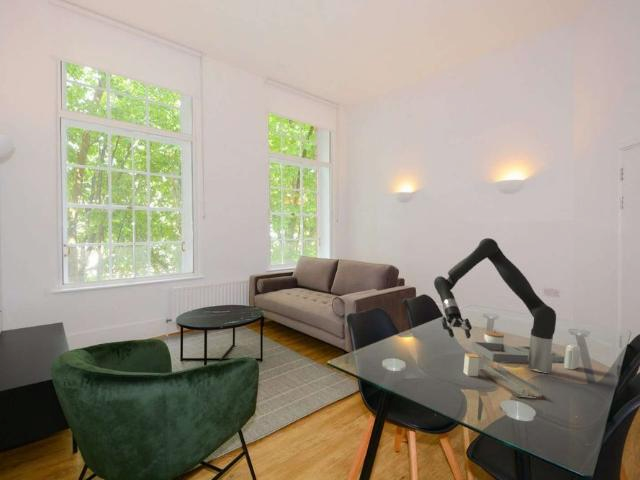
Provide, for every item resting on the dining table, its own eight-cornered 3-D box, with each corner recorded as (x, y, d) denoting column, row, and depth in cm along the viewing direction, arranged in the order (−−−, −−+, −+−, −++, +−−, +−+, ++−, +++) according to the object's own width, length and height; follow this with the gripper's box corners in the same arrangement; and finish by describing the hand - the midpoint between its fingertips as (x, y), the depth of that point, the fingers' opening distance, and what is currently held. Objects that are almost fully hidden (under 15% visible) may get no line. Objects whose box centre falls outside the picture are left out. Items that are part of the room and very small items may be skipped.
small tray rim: (542, 352, 200) (543, 347, 200) (565, 362, 184) (565, 356, 184) (518, 350, 198) (519, 345, 198) (538, 360, 182) (539, 355, 182)
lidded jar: (485, 346, 201) (486, 331, 201) (482, 341, 212) (483, 327, 211) (504, 349, 198) (506, 334, 198) (500, 344, 208) (501, 329, 208)
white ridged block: (570, 364, 180) (572, 342, 180) (579, 367, 177) (581, 344, 176) (562, 367, 174) (564, 344, 174) (571, 370, 171) (574, 347, 171)
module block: (473, 372, 156) (475, 354, 155) (477, 376, 152) (479, 356, 152) (463, 372, 155) (465, 353, 155) (467, 375, 151) (469, 356, 151)
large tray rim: (503, 350, 197) (503, 343, 197) (527, 362, 177) (528, 355, 177) (471, 348, 195) (472, 341, 195) (492, 361, 175) (493, 353, 175)
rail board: (502, 372, 159) (503, 365, 159) (544, 398, 134) (545, 390, 134) (479, 371, 158) (480, 364, 158) (517, 397, 132) (518, 389, 132)
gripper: (441, 304, 172) (450, 332, 161) (467, 306, 174) (477, 334, 162) (435, 312, 177) (444, 340, 166) (460, 313, 179) (470, 341, 168)
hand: (460, 337), depth 164 cm, fingers open, 8 cm apart
